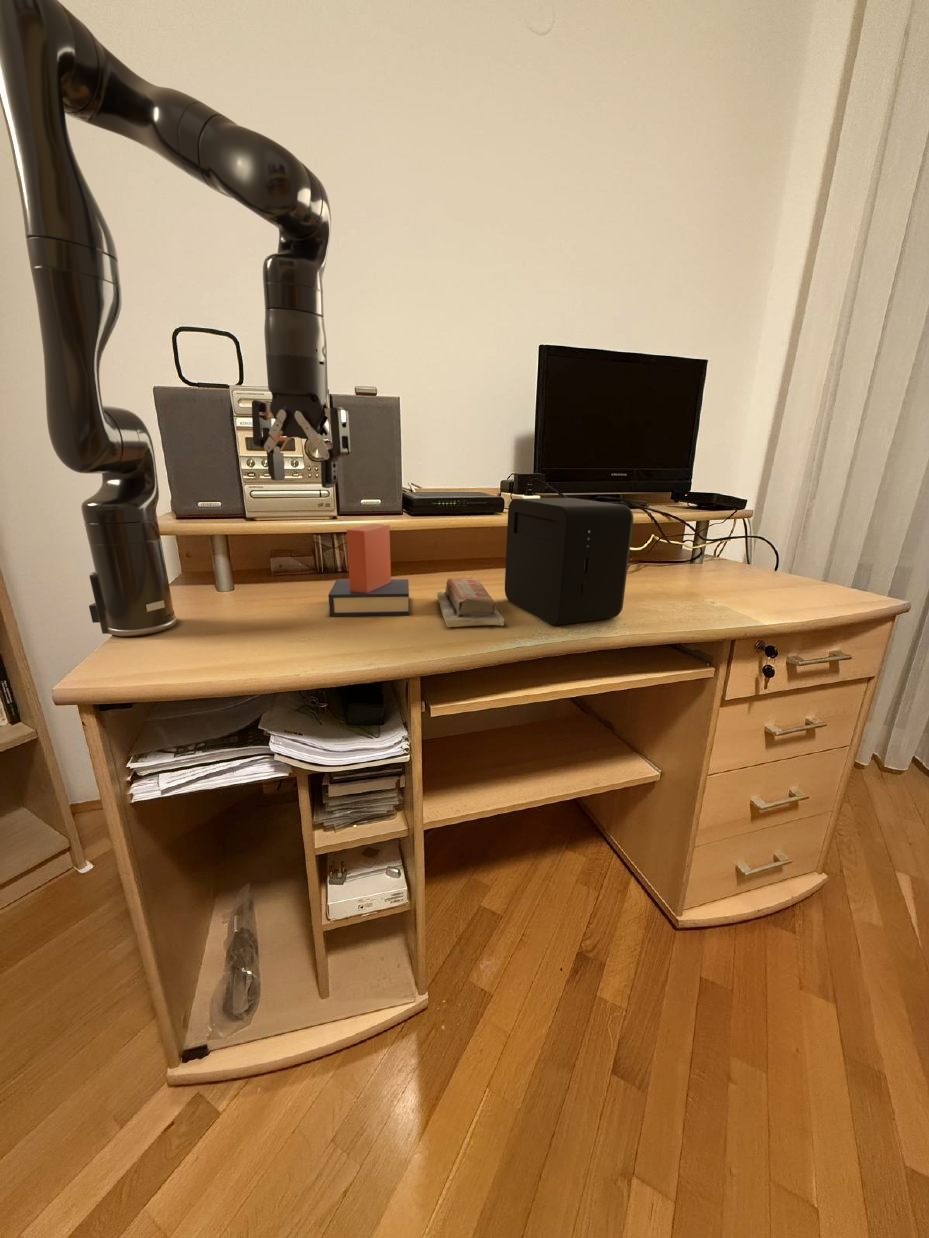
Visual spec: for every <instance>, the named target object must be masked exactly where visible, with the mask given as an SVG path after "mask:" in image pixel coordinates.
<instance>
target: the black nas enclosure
mask: <svg viewBox="0 0 929 1238" xmlns="http://www.w3.org/2000/svg"><path fill="white" fill-rule="evenodd" d="M633 527H634V513H633V511H632V510H631V508H630V507H628V506H627V505H625V504H619V503H613V502H606V501H605V502H604V501H597V500H591V499H590V500H589V499H582V498H574V497H540V498H539V497H535V498H513V499H511V500H510V503H509V505H508V508H507V527H506V549H505V569H504V571H505V573H504V594H505V597H506V599H507V600H508V602H510V603H512V604H513V605H515V606H516V607H518V608H521V609H523V610H524V611H526V612H528V613H530V614H531V615H533V616H535V617H536V618H538V619H540V620H542V621H543V622H545V623H547V624H549V625H550V626H558V625H559V626H561V625H567V624H575V623H584V622H590V621H600V620H607V619H614V618H616V617H618V616H619V615H620V614H621V612H622V611H623V608H624V599H625V593H626V584H627V575H628V570H629V569H628V568H629V560H630V552H631V544H632V536H633Z"/></svg>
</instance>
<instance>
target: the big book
mask: <svg viewBox="0 0 929 1238" xmlns="http://www.w3.org/2000/svg"><path fill="white" fill-rule="evenodd" d="M409 583H410V582H409V579H408V578H401V579H400V578H397V579H395V578H394V579H392V578H391V583H389V584H386V585H384V586H382V587H380V588H377V589H375V590H373V591H371V592H369V593H360V592H351V591H350V582H349V579H336V580H335V582H334V584H333V585H332V587H331V589H330V591H329V592H328V595H327V596H328V608H329V609H328V610H329V617H363V616H364V617H371V616H373V617H375V616H379V617H380V616H410V587H409Z"/></svg>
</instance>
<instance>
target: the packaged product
mask: <svg viewBox="0 0 929 1238" xmlns="http://www.w3.org/2000/svg"><path fill="white" fill-rule="evenodd" d="M445 585H446V586H445V591H444V592H442V591H438V592H436V595H437V600H438V602H439V607H440V613H441V615H442V618H443V620H444V621H445V625H446V627H447V628H458V627H472V626H473V627H475V626H476V627H477V626H500V627H501V626H503V627H504V625H505V619H504V618H503V615H502V614H501V613H500V612H499V610H498V608H497V604H496V603H495V601H494V600H493V598H492V597H491V595H490V594H489V593H488V591H487V590H486V588H485V587H484V586H483V584H482V583H481V581H480V580H479V579H477V578H473V577H451V578H447V580H446V583H445Z"/></svg>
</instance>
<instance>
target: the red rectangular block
mask: <svg viewBox="0 0 929 1238" xmlns="http://www.w3.org/2000/svg"><path fill="white" fill-rule="evenodd" d="M390 530H391V529H390V524H381V523H379V524H378V523H371V524H368V525H367V524H365V525H362V526H357V527H352V528H348V529H346V544H347V560H348V563H347V565H348V580H349V582H350V591H351V592H360V593H369V592H371V591H373V590H375V589H377V588H380V587H382V586H384V585H386V584H389V583H391V579H392V567H391V566H392V565H391V535H390V532H391V531H390Z"/></svg>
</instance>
